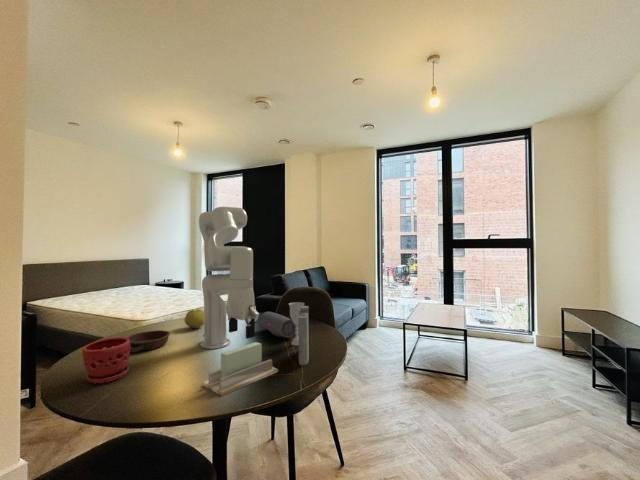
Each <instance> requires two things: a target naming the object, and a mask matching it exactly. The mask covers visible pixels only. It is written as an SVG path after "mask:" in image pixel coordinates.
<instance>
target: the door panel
mask: <svg viewBox="0 0 640 480" xmlns="http://www.w3.org/2000/svg"><path fill="white" fill-rule="evenodd" d="M262 346H263V345H262V343H260V342H257V341H254V342H252V343H248V344H246V345H243V346H239V347H235V348H232V349H229V350H226V351H223V352H220V369H221V378H222V377H225V376H227V375H230V374H232V373H235V372H238V371H240V370H243V369H246V368H248V367H251V366H254V365H256V364H259V363H261V362H263V361H262V357H263V355H262V353H263V352H262V349H263V348H262Z"/></svg>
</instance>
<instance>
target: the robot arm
mask: <svg viewBox="0 0 640 480" xmlns="http://www.w3.org/2000/svg"><path fill="white" fill-rule="evenodd" d="M247 222H248V215H247V212H246V211H245V209H244V208H241V207H237V206H236V207H231V206H218V207H215V208H213V210H212V211H204V212H202V213H200V214H199V217H198V227H199V230H200V234H201V236H202V238H203V245H204V246H203V247H204V248H203V249H204V253H203V254H204V266H205V269H206V270H207V271H208V272H229V273H217V274H215V273H214V274H208V275H206V276H204V277H203V278H202V280H201V289H202V295H203V312H204V325H203V333H202V338H203V340H202V341H201V342H200V347H201V348H202V349H207V350H208V349H209V350H216V349H220V348H225V347H227V346H228V345H230V344H231V340H230V339H229V338H227V321H228V332H229V333H234V332H237V331H238V326H239V325H238V324H239V323H238V320H239V321H243V320H244V321H245V324H246V326H245V339H247V340H248V339H252V338H254V337H255V336H256V325H257V322H258V321H259V316H260V314H259V312H258V311H257V310H256V302H255V293H254V250H253V249H252V248H251V247H248V246H243V245H242V246H241V245H238V246H237V245H235V246H234V245H233V246H232V245H226V244H228V243H230V242H233V241H234V240H235V239H236V238H237V237H238V235H239V230H242V229H243V228H244V227H246V226H247ZM225 245H226V246H225ZM225 295H226V296H227V303H226V301H225V300H224V299H223V298H222V297H221V296H225Z"/></svg>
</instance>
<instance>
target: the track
mask: <svg viewBox="0 0 640 480" xmlns="http://www.w3.org/2000/svg"><path fill="white" fill-rule="evenodd" d="M278 372H279V368H276V367H274V366H273V359H272V358H270V359H267V360H264V361H262V362H261V363H259V364H256V365H254V366H251V367H248V368H246V369H243V370H240V371H238V372H235V373H232V374H230V375H227V376H225V377H222V378H221V368H219V369H217V370H213V371H211V372H208V379H207V380H205V381H202V386H203V387H205V388H207V389H209V390H211V391H212V392H214V394H215V393H216V394H218V395H219V396H221V397H223V396H225V395H228V394H231V393H232V392H235V391H237V390H239V389H242V388H243V387H246V386H248V385H251V384H253V383H255V382H258V381H261V380H262V379H264V378H265V379H266V378H267V377H269V376H271V375H274V374H276V373H278Z"/></svg>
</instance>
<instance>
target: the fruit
mask: <svg viewBox="0 0 640 480" xmlns="http://www.w3.org/2000/svg"><path fill="white" fill-rule="evenodd" d="M184 323H185V325H186V326H187V327H189V328H191V329H199V328H201V327H203V326H204V310H202V309H199V308H198V309H197V308H196V309H191V310H189V311H187V313H186V314H185V317H184Z"/></svg>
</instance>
